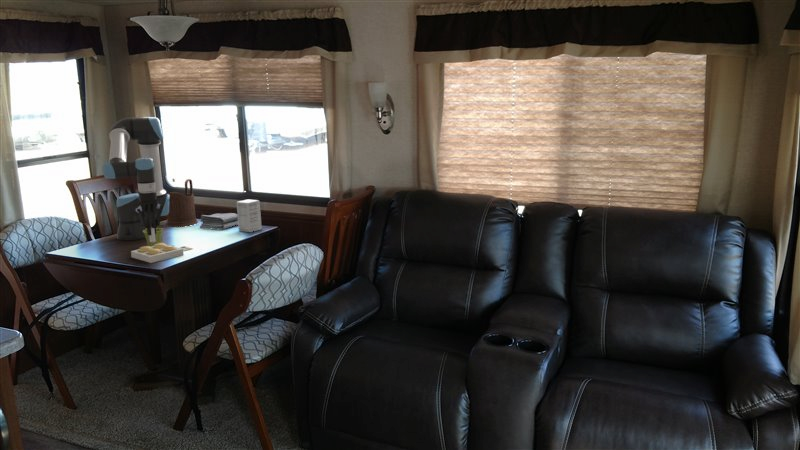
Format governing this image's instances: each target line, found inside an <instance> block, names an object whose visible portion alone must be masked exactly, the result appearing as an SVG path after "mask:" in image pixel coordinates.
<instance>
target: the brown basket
mask: <svg viewBox="0 0 800 450" xmlns="http://www.w3.org/2000/svg"><path fill="white" fill-rule="evenodd" d="M188 183H189V188H188ZM189 190H190V193H189ZM166 193H167V194H169V195H170V199H169V214H168V215H166V216H167V217H166V218H167V220H166V224H165V226H166V227H167V226H168V228H186V227H185V226H187V227H191V226H190V225H192V226H195V225H194V224H196V225H198V224H199V221H198V220H197V217H196V208H195V197H194V196H195V195H194V188H193V181H192V179H190V178H189V179H186V180H185V182H184V193H180V192H175V191H173V192H166ZM197 223H198V224H197Z"/></svg>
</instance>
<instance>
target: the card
mask: <svg viewBox="0 0 800 450" xmlns="http://www.w3.org/2000/svg"><path fill="white" fill-rule="evenodd" d="M178 248H181V249H183V252H186V251H190V250H193V249H194V248H193V247H191V246H190V247H189V246H179V247H178Z"/></svg>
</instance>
